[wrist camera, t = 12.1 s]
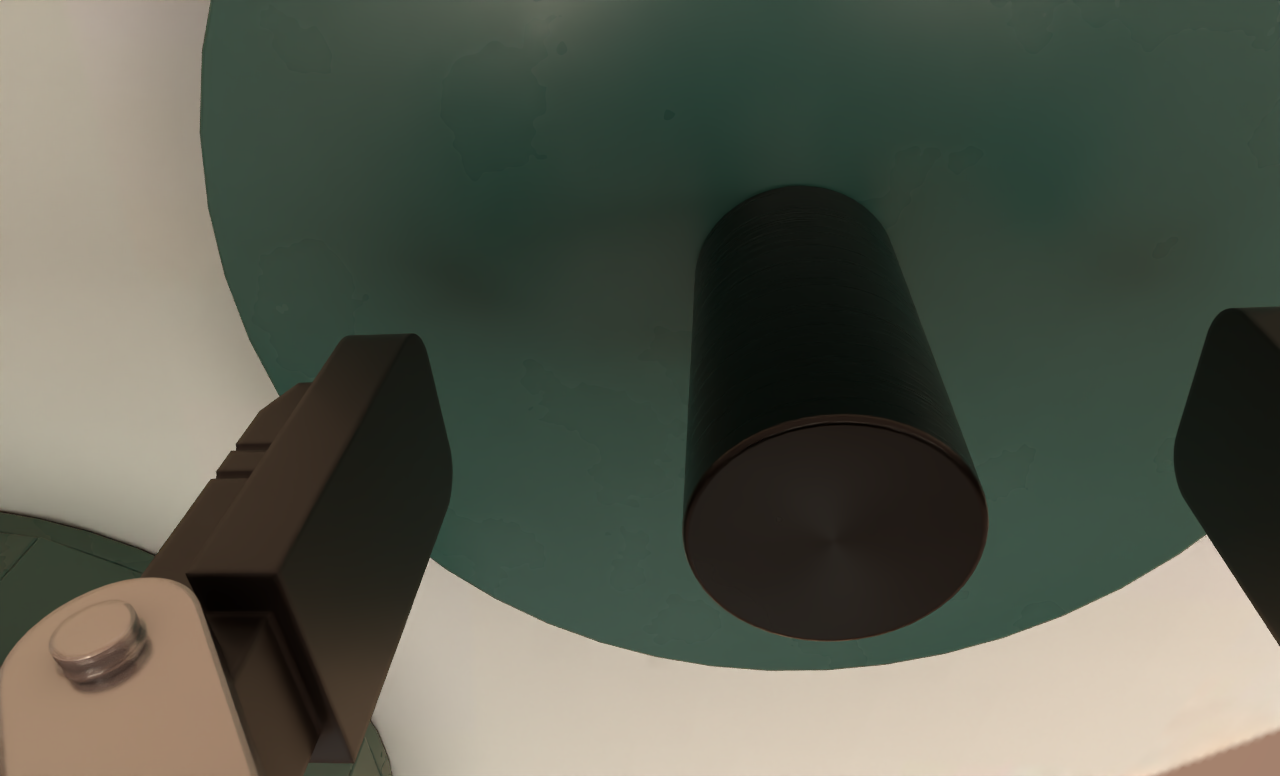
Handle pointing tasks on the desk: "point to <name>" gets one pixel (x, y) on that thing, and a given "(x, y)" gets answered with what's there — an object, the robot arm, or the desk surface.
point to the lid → (766, 289)
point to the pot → (83, 561)
